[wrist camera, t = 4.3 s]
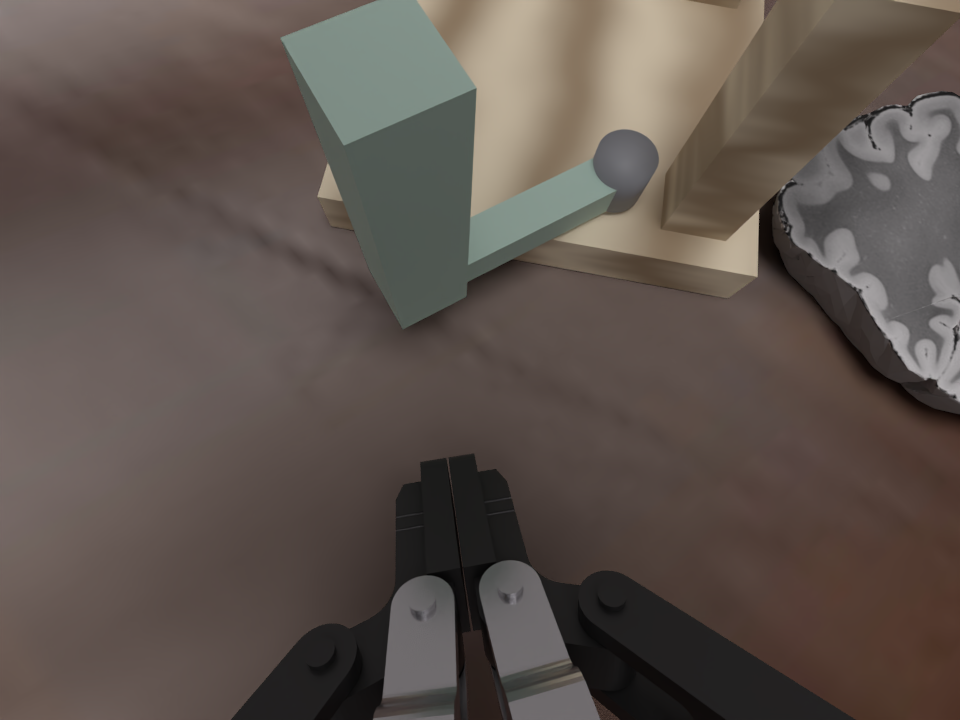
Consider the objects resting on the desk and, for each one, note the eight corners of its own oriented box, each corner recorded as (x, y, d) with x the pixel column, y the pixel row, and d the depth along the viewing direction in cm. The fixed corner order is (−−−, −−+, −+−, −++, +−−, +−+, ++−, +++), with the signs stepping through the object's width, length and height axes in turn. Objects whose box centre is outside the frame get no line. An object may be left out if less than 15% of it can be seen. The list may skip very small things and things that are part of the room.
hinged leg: (617, 151, 23) (753, -145, 12) (653, 201, 23) (830, -66, 12) (370, 271, 21) (280, 37, 10) (403, 330, 20) (344, 145, 10)
